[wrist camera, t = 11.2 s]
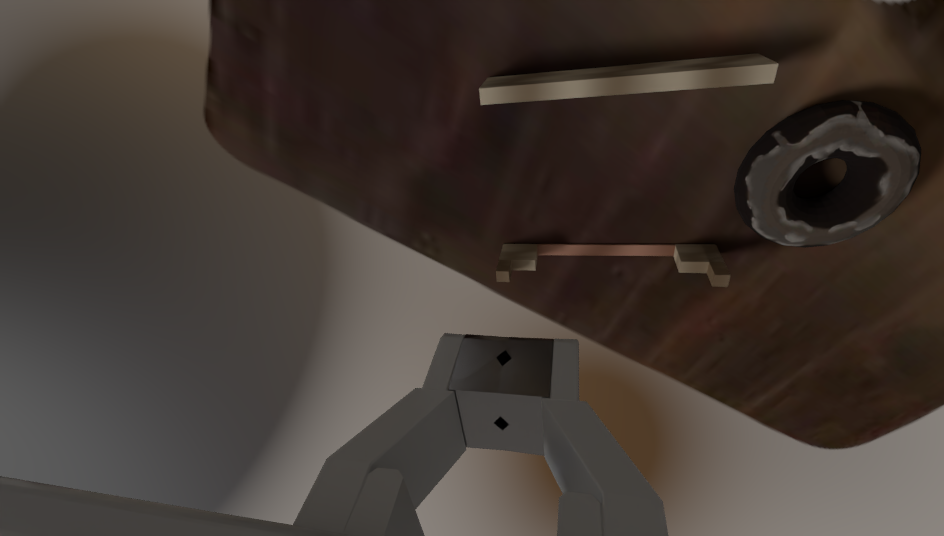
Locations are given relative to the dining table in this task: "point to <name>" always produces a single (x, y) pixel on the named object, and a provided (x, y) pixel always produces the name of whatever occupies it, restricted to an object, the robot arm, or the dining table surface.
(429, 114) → the dining table surface
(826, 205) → the donut
